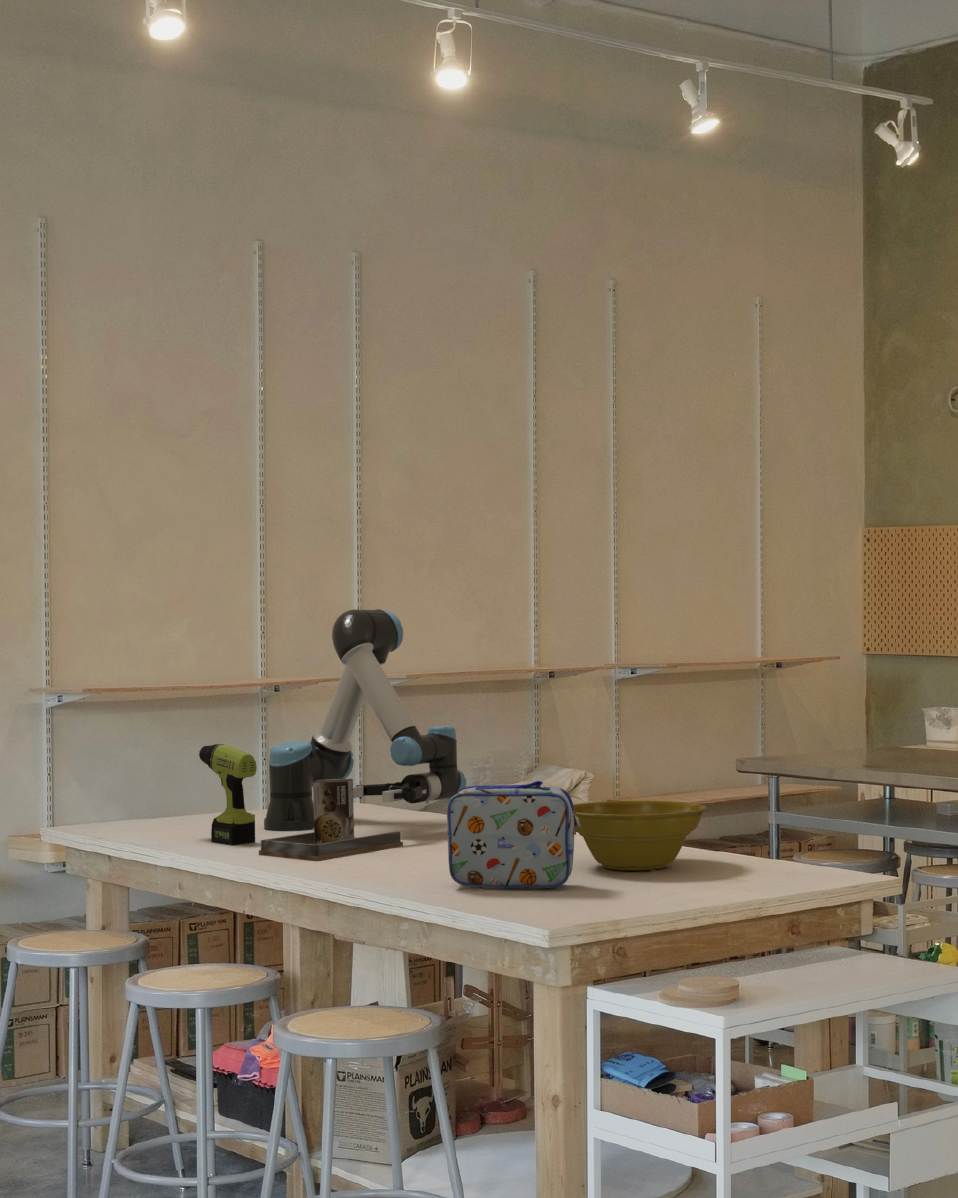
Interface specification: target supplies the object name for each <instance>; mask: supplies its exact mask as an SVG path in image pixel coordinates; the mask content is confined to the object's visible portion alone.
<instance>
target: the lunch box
mask: <svg viewBox="0 0 958 1198" xmlns="http://www.w3.org/2000/svg"><path fill="white" fill-rule="evenodd" d="M543 783H544V782H543V781H541V780H537V781H534V782H531V783H526V784H510V785H508V784H501V785H499V784H498V785H495V784H494V785H471V786H466V787H465V788H463V789H461V790H459V791H458V792H457V793H456V794H455V795H454V796H453V797H452V798H450V799H449V802H448V803H447V806H446V825H447V829H446V830H447V852H448V856H447V857H448V869H449V875H450V877H451V879H452V880H453V881H454V883H457V884H458V885H462V886H464V887H469V888H478V889H479V888H480V889H496V890H497V889H500V890H503V889H505V890H509V889H511V890H513V889H516V890H517V889H518V890H519V889H522V890H529V889H531V890H532V889H533V890H535V889H547V888H551V889H552V888H558V887H561V886H564V884H565V883H566V882H567V881H568V880H569V877H570V876H571V874H572V871H573V866H574V851H575V835H577V832H576V825H578V827H581V825H580V822H579V819H578V817H577V815H576V811H574V808H573V805H574V803H573V799H572V797H571V795H570V793H568V791H567V790H565V789H563V788H561V787H557V786H556V787H553V786H542V784H543Z"/></svg>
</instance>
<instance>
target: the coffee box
mask: <svg viewBox="0 0 958 1198" xmlns="http://www.w3.org/2000/svg"><path fill="white" fill-rule="evenodd" d="M353 782H354V780H353V778H346V779H325V780H316V781H315V782H313V786H312V799H313V803H314V828H313V830H314V831H313V832H314V835H315V845H316V844H322V843H328V842H334V841H340V840H346V839H353V838H354V837H355V823H354V822H355V818H354V817H355V816H354V798H353V787H354V783H353Z"/></svg>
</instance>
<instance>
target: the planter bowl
mask: <svg viewBox="0 0 958 1198" xmlns="http://www.w3.org/2000/svg"><path fill="white" fill-rule="evenodd" d="M573 808H574V811H576V815H577V817H578V819H579V822H580V825H581V827H578V825H576V833H578V835H580V836H581V837H582V838H583V840H584V842H585V845H586V846H587V848H588V850H589V852H590V854H591V855H592V857H593V859H594V860H595V861H596V863H598V864H600V865H602V867H603V868H606V869H609V870H617V871H623V872H624V871H651V870H660V869H664V868H667V867H668V866H669V865H670V864H671V863H674V861H675V860H676V858H677V857H678V856H679V853H680V851H681V849H682V847H683V845H684V843H685V840H686V837H687V836H689V835H690V834H691V833H692V832H693V831H695V830H696V829H697V828H698V826H699V823H700V821H701V819H702V815H703V812H704V811H705V810H707V809H708V807H707V806H706V805H704V804H700V803H695V802H688V801H687V802H686V801H685V802H684V801H675V800H674V801H671V800H610V801H608V800H607V801H593V802H591V801H590V802H581V803H576V804H575V803H573Z"/></svg>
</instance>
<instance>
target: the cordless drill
mask: <svg viewBox="0 0 958 1198" xmlns="http://www.w3.org/2000/svg"><path fill="white" fill-rule="evenodd" d="M198 752H199V753H198V758H199V759H200V760H201V761H202V762H203V763H204V764H205V765H207V767H208V768H209V769H210V770H211V771H213V772H214V773H215V774H216V775H217V776H218V777H219V778H220V783H221V786H222V787H223V788H224V790H225V797H226V807H225V809H224V811H223V812H222V813H220V814H218V815H217V816H215V817H214V818H213V820H212V822H211V831H210V832H211V833H210V835H211V836H210V838H211V840H210V841H211V843H215V844H222V845H229V846H238V845H244V844H246V845H247V844H252V843H256V814H253V813H252V812H247V811H246V810H247V809H246V807H245V794H244V785H243V780H244V779H245V778H251V777H254V776H255V775H256V773H257V770H258V769H257V768H258V767H257V762H256V759H255V757H254V756H253V755H252V754H250V753H248V752H245V751H243V750H240V749H237V748H236V747H232V746H230V745H228V744H227V745H226V744H223V743H216V744H212V745H211V744H210V745H204V746H203V747H201V748H200V750H199V751H198Z"/></svg>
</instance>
